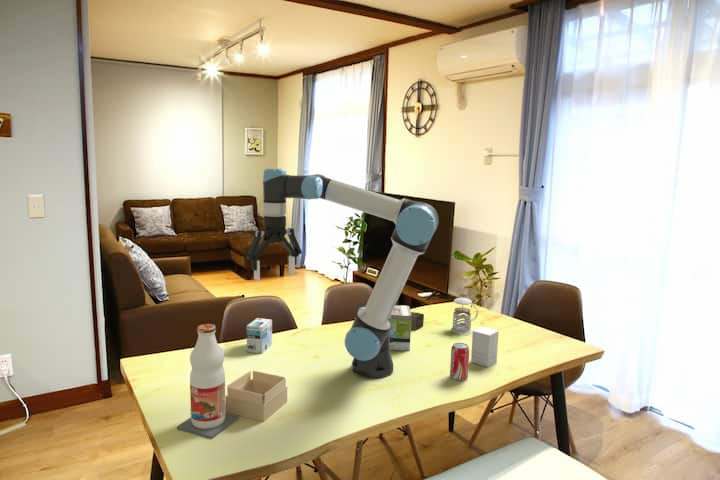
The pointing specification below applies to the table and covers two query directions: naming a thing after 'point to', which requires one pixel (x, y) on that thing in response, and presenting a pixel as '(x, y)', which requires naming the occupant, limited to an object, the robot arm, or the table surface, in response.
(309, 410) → the table surface
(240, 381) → the carton
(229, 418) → the coaster
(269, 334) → the light bulb box
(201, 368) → the fruit juice
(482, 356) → the supplement box
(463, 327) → the french press
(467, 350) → the soda can
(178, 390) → the table surface
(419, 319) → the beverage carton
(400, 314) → the tea box
